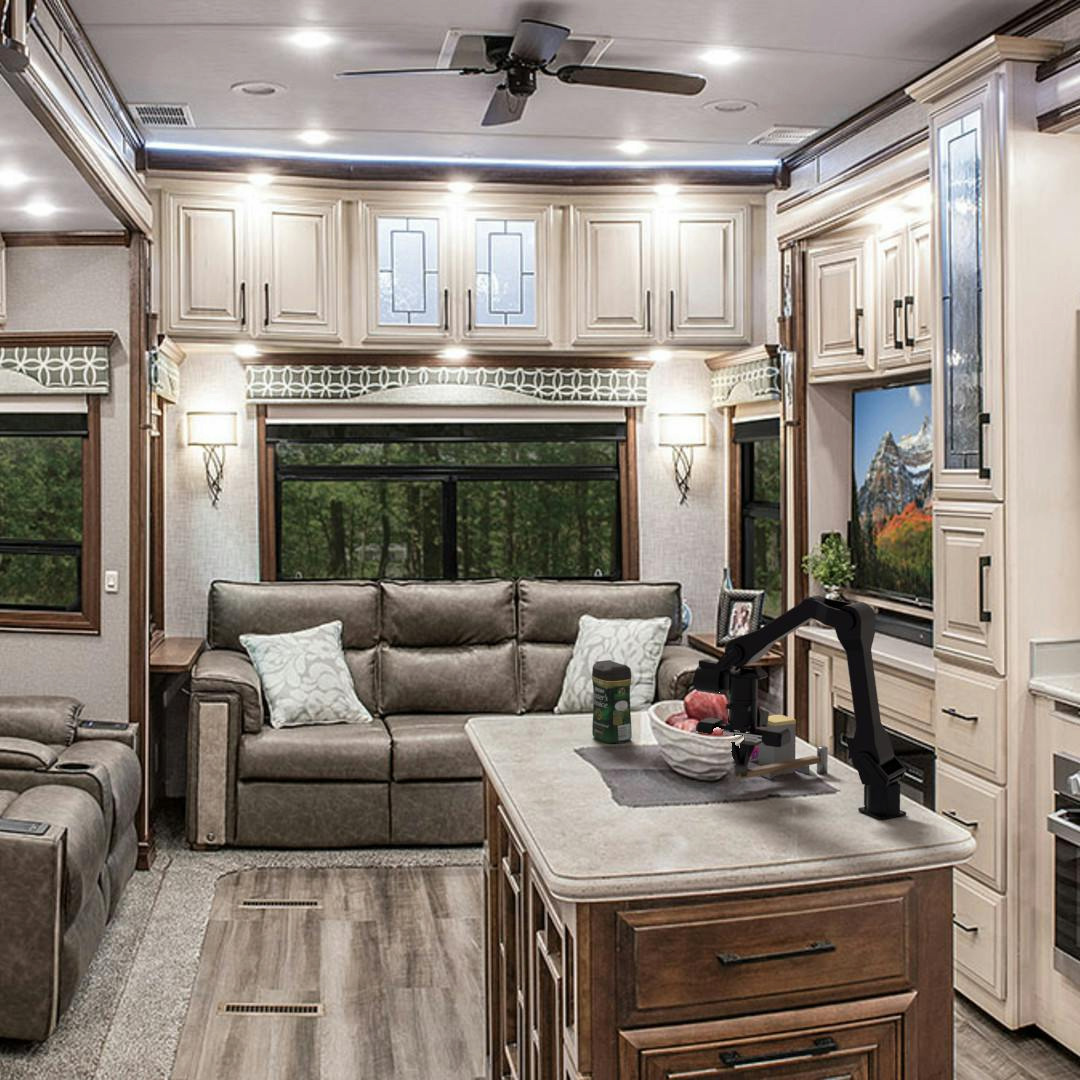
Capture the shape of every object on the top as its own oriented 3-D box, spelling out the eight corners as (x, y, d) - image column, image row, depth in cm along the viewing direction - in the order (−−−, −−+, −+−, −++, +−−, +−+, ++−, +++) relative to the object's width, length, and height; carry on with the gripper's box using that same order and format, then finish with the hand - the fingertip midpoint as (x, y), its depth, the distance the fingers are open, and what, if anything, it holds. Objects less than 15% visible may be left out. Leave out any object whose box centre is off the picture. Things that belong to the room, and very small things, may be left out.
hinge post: (829, 773, 261) (829, 747, 260) (821, 774, 260) (821, 749, 259) (823, 770, 263) (823, 745, 262) (814, 772, 262) (814, 746, 261)
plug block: (795, 772, 262) (795, 719, 261) (773, 775, 260) (774, 722, 259) (779, 766, 267) (779, 714, 266) (758, 769, 265) (758, 717, 264)
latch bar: (821, 763, 259) (821, 752, 259) (740, 780, 248) (740, 768, 247) (812, 760, 261) (812, 749, 261) (731, 777, 250) (731, 765, 250)
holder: (809, 772, 261) (809, 765, 261) (769, 779, 257) (769, 771, 257) (781, 762, 270) (781, 754, 270) (742, 768, 266) (743, 760, 266)
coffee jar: (586, 737, 294) (586, 659, 292) (615, 732, 298) (615, 656, 296) (608, 746, 285) (607, 666, 284) (637, 741, 289) (636, 663, 288)
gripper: (801, 695, 252) (800, 770, 254) (718, 685, 262) (717, 757, 264) (780, 706, 243) (779, 784, 244) (694, 695, 253) (694, 770, 255)
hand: (742, 773), depth 252 cm, fingers closed
